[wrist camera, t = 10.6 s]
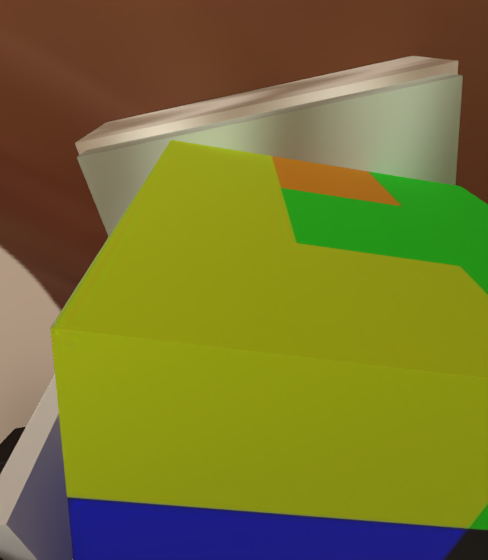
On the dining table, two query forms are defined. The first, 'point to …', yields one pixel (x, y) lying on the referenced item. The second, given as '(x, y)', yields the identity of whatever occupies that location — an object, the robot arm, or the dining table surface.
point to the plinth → (296, 128)
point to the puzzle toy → (279, 367)
